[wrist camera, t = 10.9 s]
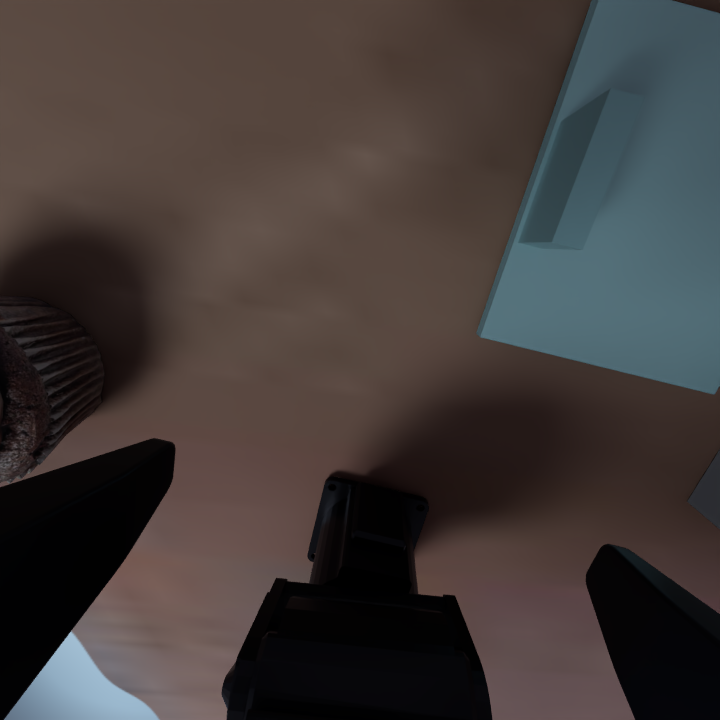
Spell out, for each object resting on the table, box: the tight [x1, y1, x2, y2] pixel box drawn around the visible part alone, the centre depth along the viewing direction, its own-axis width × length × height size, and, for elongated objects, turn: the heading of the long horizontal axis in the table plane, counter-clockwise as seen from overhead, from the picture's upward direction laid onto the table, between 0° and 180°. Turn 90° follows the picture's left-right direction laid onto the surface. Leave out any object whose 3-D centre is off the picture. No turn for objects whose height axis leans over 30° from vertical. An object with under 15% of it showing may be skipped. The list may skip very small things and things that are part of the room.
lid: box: [476, 0, 720, 394], centre depth 15 cm, size 14×12×5 cm
